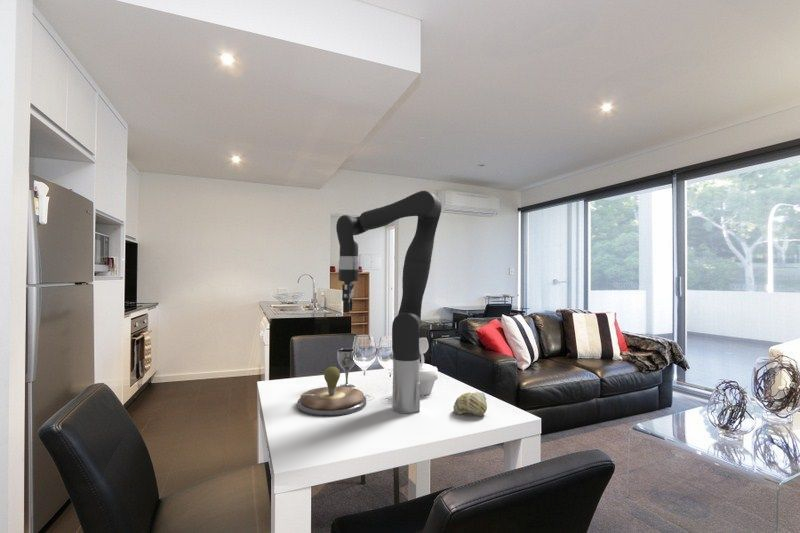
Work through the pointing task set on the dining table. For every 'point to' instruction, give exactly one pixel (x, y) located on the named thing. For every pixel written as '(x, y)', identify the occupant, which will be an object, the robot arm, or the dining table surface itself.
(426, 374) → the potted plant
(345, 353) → the wine glass
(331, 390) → the light bulb
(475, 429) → the dining table surface
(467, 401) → the seashell
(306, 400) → the turntable platter
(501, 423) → the dining table surface
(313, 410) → the turntable base
